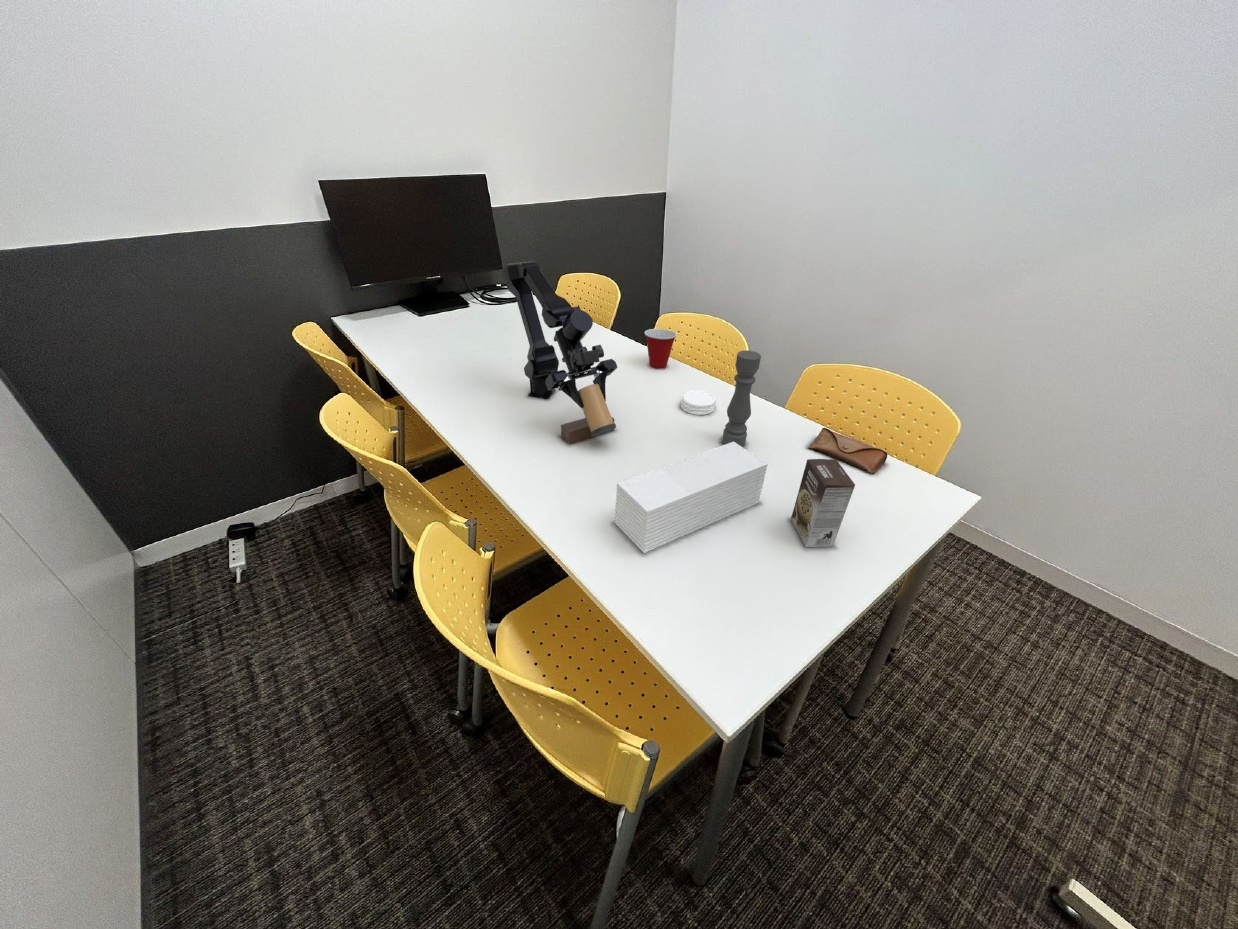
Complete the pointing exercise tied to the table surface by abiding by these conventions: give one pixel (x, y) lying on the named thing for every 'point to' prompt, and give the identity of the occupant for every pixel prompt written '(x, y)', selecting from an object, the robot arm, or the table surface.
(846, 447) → the sunglasses case
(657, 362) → the plastic cup
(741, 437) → the candle holder
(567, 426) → the walnut block
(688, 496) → the stack of papers
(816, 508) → the brown food box
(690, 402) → the coaster
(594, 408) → the tan cylinder
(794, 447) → the table surface
